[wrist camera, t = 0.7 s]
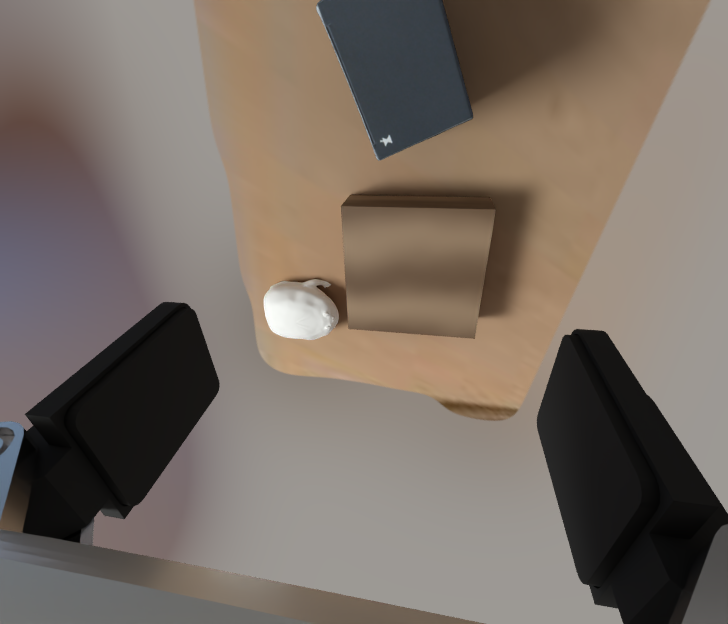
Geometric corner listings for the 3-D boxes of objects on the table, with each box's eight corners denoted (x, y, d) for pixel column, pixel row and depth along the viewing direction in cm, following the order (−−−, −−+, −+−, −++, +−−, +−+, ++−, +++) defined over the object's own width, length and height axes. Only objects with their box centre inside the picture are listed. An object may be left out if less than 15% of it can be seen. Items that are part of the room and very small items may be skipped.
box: (464, 109, 27) (475, 120, 19) (394, 141, 29) (375, 165, 21) (430, -15, 24) (425, -73, 15) (354, 31, 26) (311, 3, 17)
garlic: (340, 277, 37) (330, 295, 34) (344, 331, 41) (336, 352, 37) (266, 274, 38) (251, 291, 35) (277, 327, 42) (264, 347, 39)
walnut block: (351, 193, 33) (340, 206, 29) (489, 196, 31) (495, 209, 27) (356, 307, 39) (348, 328, 36) (471, 315, 37) (474, 338, 34)
